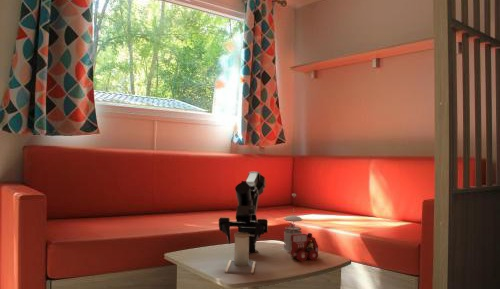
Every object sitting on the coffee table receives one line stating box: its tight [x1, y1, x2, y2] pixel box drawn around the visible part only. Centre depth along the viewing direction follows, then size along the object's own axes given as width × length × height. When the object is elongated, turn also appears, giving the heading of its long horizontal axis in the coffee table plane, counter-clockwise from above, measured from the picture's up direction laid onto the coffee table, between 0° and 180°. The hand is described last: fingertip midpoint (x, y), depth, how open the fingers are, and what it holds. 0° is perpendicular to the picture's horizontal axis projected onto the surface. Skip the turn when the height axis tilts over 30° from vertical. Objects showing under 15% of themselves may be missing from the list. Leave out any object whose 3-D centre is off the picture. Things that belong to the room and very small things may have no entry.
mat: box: [224, 259, 256, 275], centre depth 159 cm, size 15×10×1 cm, turn 176°
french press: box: [281, 193, 303, 254], centre depth 189 cm, size 10×12×25 cm
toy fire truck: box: [290, 232, 319, 262], centre depth 175 cm, size 7×12×10 cm, turn 113°
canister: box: [233, 231, 250, 266], centre depth 161 cm, size 6×6×12 cm
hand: (241, 243), depth 160 cm, fingers open, 9 cm apart
